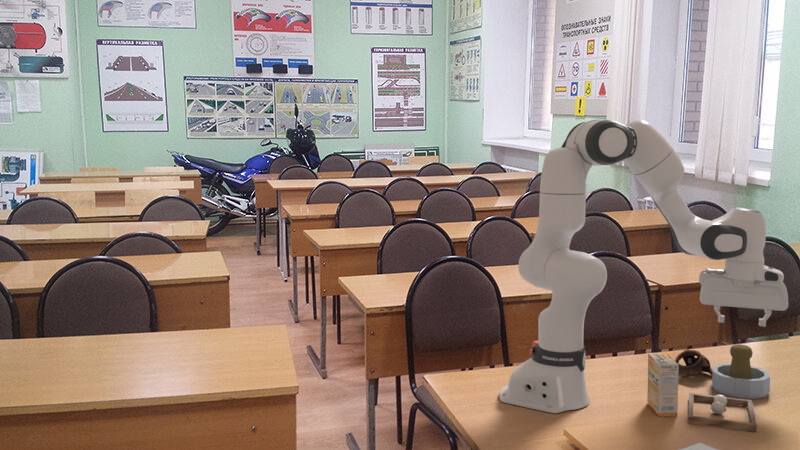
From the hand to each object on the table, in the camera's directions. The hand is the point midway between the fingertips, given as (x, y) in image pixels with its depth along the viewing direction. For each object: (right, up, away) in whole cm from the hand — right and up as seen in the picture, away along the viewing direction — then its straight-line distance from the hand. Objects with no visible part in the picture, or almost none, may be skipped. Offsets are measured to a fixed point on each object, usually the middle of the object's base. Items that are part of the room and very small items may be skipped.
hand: (741, 324), depth 173 cm
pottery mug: (-6, -17, +14) cm, 23 cm away
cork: (+1, -17, +2) cm, 17 cm away
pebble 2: (-12, -17, -13) cm, 24 cm away
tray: (-12, -20, -13) cm, 26 cm away
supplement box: (-24, -20, -9) cm, 33 cm away
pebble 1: (-10, -19, -8) cm, 23 cm away
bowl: (+1, -17, +2) cm, 18 cm away
